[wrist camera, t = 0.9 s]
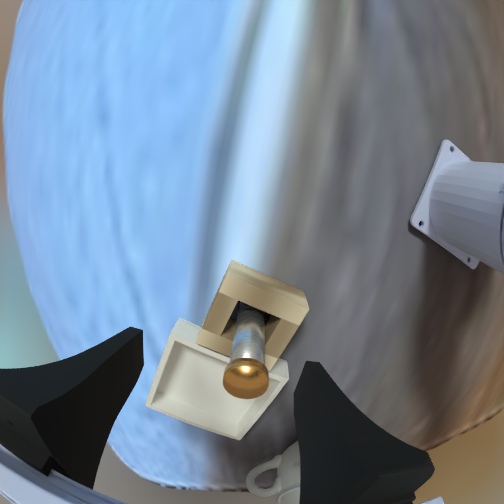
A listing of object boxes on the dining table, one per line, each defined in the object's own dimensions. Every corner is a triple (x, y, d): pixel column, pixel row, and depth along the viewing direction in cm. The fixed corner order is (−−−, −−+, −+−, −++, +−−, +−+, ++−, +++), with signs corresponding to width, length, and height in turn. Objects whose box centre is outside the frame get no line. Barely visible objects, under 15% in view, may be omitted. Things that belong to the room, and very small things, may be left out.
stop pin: (272, 301, 22) (276, 376, 13) (258, 325, 22) (256, 404, 14) (243, 289, 22) (233, 360, 13) (231, 314, 22) (216, 390, 14)
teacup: (379, 422, 26) (397, 473, 18) (334, 467, 29) (342, 512, 21) (270, 407, 25) (271, 471, 17) (238, 455, 28) (233, 507, 20)
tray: (286, 360, 23) (288, 379, 21) (241, 423, 26) (239, 440, 24) (179, 317, 22) (170, 332, 20) (152, 389, 25) (145, 405, 23)
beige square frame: (303, 291, 21) (309, 309, 19) (269, 349, 23) (269, 371, 20) (231, 259, 21) (226, 273, 18) (203, 322, 22) (195, 342, 20)
